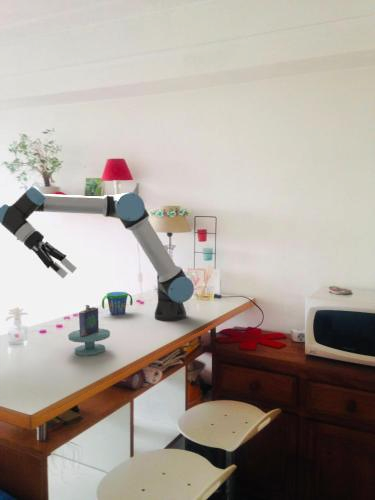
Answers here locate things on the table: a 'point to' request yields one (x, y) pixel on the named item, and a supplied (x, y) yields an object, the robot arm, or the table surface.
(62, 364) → the table surface
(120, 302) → the snack cup
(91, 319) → the flask
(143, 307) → the table surface
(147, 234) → the robot arm
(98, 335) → the cake stand
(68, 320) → the table surface
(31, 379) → the table surface
